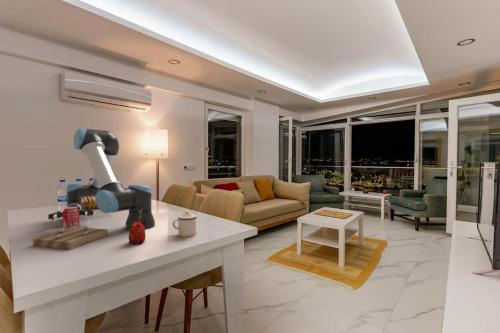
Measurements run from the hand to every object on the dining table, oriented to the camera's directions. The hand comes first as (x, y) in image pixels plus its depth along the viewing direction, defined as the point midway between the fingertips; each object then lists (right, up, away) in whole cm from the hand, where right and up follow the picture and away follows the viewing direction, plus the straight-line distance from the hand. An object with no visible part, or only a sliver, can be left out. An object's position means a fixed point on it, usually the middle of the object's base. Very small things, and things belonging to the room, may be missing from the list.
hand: (70, 217), depth 133 cm
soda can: (-1, -7, +1) cm, 7 cm away
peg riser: (+12, -7, -16) cm, 21 cm away
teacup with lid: (+61, -7, -6) cm, 62 cm away
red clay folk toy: (+43, -8, -18) cm, 48 cm away
